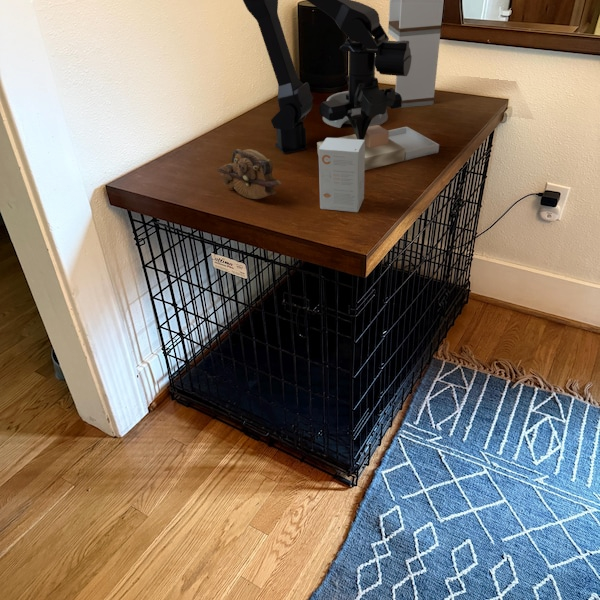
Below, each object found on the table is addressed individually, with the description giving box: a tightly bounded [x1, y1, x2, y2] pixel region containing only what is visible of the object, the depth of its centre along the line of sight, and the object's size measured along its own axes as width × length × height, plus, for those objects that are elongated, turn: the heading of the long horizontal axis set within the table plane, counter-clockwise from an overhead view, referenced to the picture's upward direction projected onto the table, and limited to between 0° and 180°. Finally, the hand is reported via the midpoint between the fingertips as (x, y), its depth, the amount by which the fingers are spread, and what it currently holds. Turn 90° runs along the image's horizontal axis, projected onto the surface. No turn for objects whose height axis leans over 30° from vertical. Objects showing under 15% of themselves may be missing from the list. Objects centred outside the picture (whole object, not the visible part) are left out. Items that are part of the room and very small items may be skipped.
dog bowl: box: [322, 90, 389, 129], centre depth 156 cm, size 17×18×5 cm
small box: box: [318, 137, 365, 213], centre depth 113 cm, size 8×6×13 cm
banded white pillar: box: [387, 0, 444, 109], centre depth 156 cm, size 11×11×35 cm
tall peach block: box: [363, 125, 389, 148], centre depth 134 cm, size 5×5×3 cm
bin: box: [387, 126, 440, 161], centre depth 139 cm, size 9×14×2 cm
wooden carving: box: [217, 148, 282, 200], centre depth 119 cm, size 16×5×10 cm, turn 55°
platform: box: [316, 133, 405, 171], centre depth 134 cm, size 16×14×3 cm
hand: (360, 141), depth 133 cm, fingers closed
